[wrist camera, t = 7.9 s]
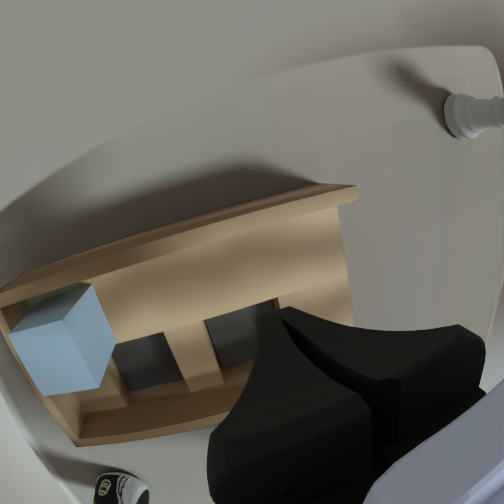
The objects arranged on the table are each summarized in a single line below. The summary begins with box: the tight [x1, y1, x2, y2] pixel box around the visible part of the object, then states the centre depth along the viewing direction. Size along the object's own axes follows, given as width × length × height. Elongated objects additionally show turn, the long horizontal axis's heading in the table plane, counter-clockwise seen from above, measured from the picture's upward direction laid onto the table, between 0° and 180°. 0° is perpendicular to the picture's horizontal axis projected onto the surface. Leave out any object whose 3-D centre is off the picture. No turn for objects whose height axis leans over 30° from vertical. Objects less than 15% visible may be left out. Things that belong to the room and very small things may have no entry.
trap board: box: [0, 183, 359, 447], centre depth 18 cm, size 12×22×5 cm, turn 104°
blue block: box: [7, 285, 117, 396], centre depth 14 cm, size 4×4×5 cm
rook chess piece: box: [443, 93, 504, 140], centre depth 18 cm, size 4×4×8 cm
